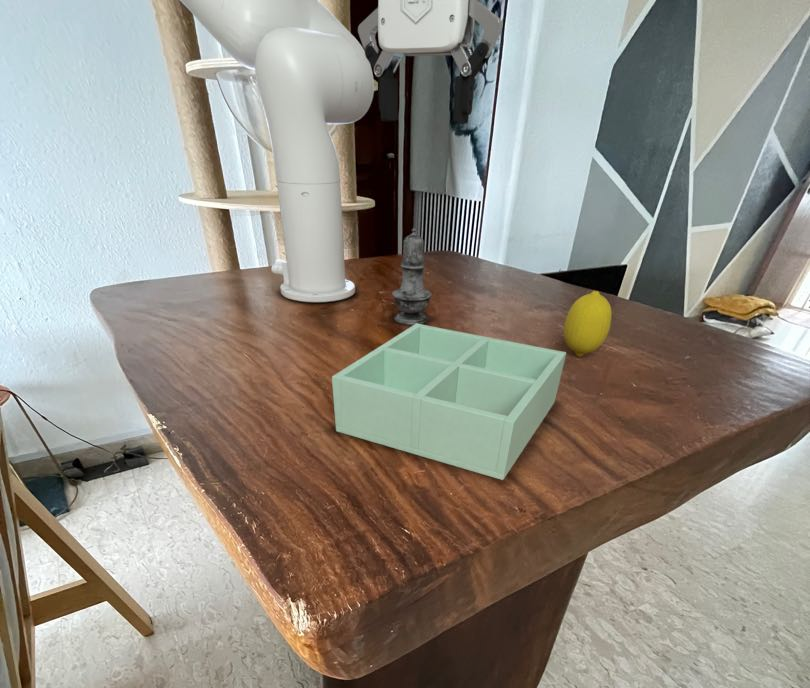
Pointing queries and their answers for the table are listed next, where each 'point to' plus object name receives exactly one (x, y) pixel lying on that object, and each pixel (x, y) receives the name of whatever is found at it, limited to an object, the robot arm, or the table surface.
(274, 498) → the table surface
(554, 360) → the box
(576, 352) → the lemon
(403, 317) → the salt shaker
